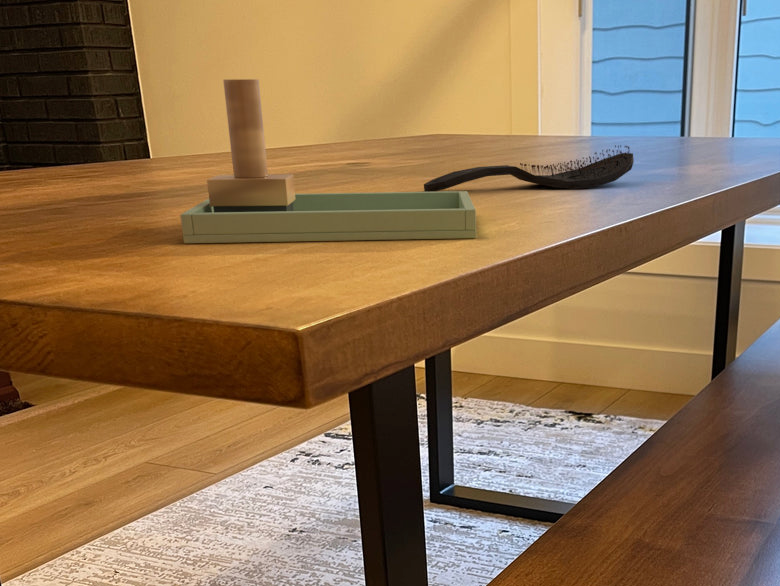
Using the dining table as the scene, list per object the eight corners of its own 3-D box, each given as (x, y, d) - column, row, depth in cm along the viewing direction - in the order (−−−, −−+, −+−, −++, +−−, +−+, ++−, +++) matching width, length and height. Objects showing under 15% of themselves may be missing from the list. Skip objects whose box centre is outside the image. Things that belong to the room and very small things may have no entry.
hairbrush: (410, 162, 108) (611, 142, 117) (413, 197, 110) (611, 175, 118) (437, 168, 101) (649, 147, 110) (440, 205, 103) (648, 182, 112)
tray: (183, 243, 74) (179, 214, 73) (217, 220, 86) (214, 194, 85) (476, 238, 75) (475, 209, 74) (467, 216, 88) (467, 191, 87)
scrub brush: (212, 226, 78) (194, 79, 73) (223, 220, 81) (206, 79, 77) (290, 225, 78) (276, 79, 74) (297, 219, 82) (285, 79, 77)
